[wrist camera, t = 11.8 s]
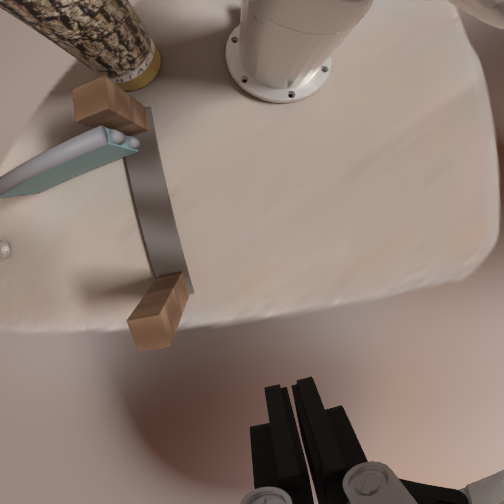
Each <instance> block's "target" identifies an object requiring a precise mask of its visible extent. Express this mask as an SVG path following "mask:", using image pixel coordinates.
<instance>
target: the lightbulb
mask: <svg viewBox="0 0 504 504" xmlns="http://www.w3.org/2000/svg"><path fill="white" fill-rule="evenodd" d="M9 255H10V247H9V245H8V243H7V242H6V241H4V240H2V241H0V261H1V260H3V259H6V258H8V257H9Z"/></svg>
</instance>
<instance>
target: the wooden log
mask: <svg viewBox="0 0 504 504" xmlns="http://www.w3.org/2000/svg"><path fill="white" fill-rule="evenodd" d="M0 8H2V9H3V10H5V11H6V12H8V13H10V14H11V15H13V16H14V17H16V18H17V19H19V20H21V21H22V22H24V23H25V24H27V25H28V26H30V27H31V28H33V29H34V30H36V31H37V32H39V33H40V34H42V35H43V36H45V37H46V38H48V39H49V40H51V41H52V42H53V43H55V44H57V45H58V46H59V47H61V48H62V49H64V50H65V51H66V52H68V53H69V54H71V55H72V56H74V57H75V58H76V59H78V60H79V61H81V62H82V63H83V64H85V65H86V66H88V67H89V68H90V69H92V70H93V71H94V72H96V73H97V74H99V75H100V76H101V77H102V76H105V77H106V78H107V79H109V80H110V81H111V82H113V83H114V84H115V85H117V86H118V87H119V88H121V89H122V90H126V91H132V90H137V89H140V88H142V87H144V86H146V85H147V84H148V83H150V82H151V81H152V80H153V79H154V78H155V76H156V75H157V73H158V71H159V69H160V65H161V57H160V53H159V51H158V49H157V48H156V46H155V44H154V43H153V41H152V39H151V37H150V36H149V34H148V32H147V31H146V29H145V27H144V26H143V24H142V22H141V21H140V19H139V18H138V16H137V14H136V13H135V11H134V9H133V8H132V6H131V5H130V3H129V1H128V0H0Z"/></svg>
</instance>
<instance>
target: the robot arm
mask: <svg viewBox="0 0 504 504" xmlns="http://www.w3.org/2000/svg"><path fill="white" fill-rule="evenodd" d="M447 1H448V2H450V3H452V4H454V5H455V6H457V7H459V8H461V9H463V10H464V11H466V12H467V13H469V14H471V15H472V16H474V17H476V18H478V19H479V20H481V21H483V22H485V23H487V24H489V25H492V26H494V27H497V28H500V29H504V0H447ZM372 2H373V0H241V18H240V24H239V25H238V26H237V27H236V28H235V29H234V30H233V32H232V33H231V35H230V36H229V39H228V41H227V44H226V51H225V56H226V63H227V67H228V70H229V72H230V74H231V76H232V78H233V79H234V80H235V82H236V83H237V84H238V85H239V86H240V87H241V88H242V89H243V90H244V91H246V92H248V93H249V94H251V95H252V96H254V97H257V98H259V99H261V100H264V101H269V102H273V103H292V102H297V101H301V100H304V99H306V98H308V97H310V96H312V95H313V94H314V93H316V92H317V91H318V90H319V89H320V88H321V87H322V86H323V85H324V84H325V82H326V81H327V79H328V78H329V75H330V73H331V69H332V53H333V52H334V51H335V49H336V48H337V47H338V46H339V45H340V43H341V42H342V41H343V40H344V39H345V38H346V36H347V35H348V34H349V33H350V32H351V30H352V29H353V28H354V27H355V26H356V25H357V24H358V22H359V21H360V20H361V19H362V18H363V16H364V15H365V14H366V13H367V12H368V10H369V8H370V7H371V5H372ZM234 41H235V42H237V43H233V42H234ZM322 70H324V71H325V72H323V71H322ZM243 80H246V81H247V82H246V83H243V82H242V81H243ZM288 95H292V98H290V97H288ZM292 391H293V396H294V401H295V406H296V412H297V417H298V422H299V427H300V432H301V437H302V441H303V445H304V449H305V453H306V457H307V461H308V464H309V468H310V472H311V476H312V480H313V484H314V487H315V491H316V495H317V499H318V503H319V504H504V470H502V471H500V472H498V473H496V474H493V475H491V476H489V477H486V478H484V479H481V480H479V481H476V482H474V483H471V484H468V485H467V486H466V488H463V489H460V490H456V489H450V488H444V487H437V486H432V485H427V484H421V483H416V482H411V481H407V480H403V479H399V478H397V476H396V475H395V474H394V473H393V471H392V470H391V469H390V468H389V467H388V466H387V465H385V464H382V463H380V462H374V461H372V462H368V461H367V459H366V457H365V454H364V452H363V450H362V448H361V445H360V443H359V441H358V439H357V437H356V434H355V433H354V430H353V428H352V426H351V423H350V421H349V419H348V417H347V415H346V413H345V410H344V408H343V407H342V406H337V407H334V408H330V409H326V410H325V409H324V406H323V404H322V401H321V398H320V396H319V393H318V391H317V388H316V385H315V383H314V380H313V378H312V377H308V378H305V379H300V380H297V384H296V385H292ZM265 395H266V401H267V408H268V414H269V421H270V423H267V424H262V425H256V426H251V427H250V436H251V450H252V463H253V475H254V487H255V490H253V491H251V492H249V493H248V494H247V495H246V496H245V497H244V498H243V499H242V500H241V503H240V504H314V501H313V496H312V490H311V485H310V479H309V474H308V470H307V466H306V461H305V457H304V453H303V449H302V446H301V442H300V438H299V434H298V430H297V426H296V422H295V418H294V414H293V410H292V406H291V402H290V398H289V394H288V390H287V387H284V388H280V385H274V386H269V387H265Z"/></svg>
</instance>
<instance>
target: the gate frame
mask: <svg viewBox="0 0 504 504" xmlns="http://www.w3.org/2000/svg"><path fill="white" fill-rule="evenodd" d="M72 91H73V101H74V110H75V118H76V122H79V123H82V124H85V125H88V126H91V127H94V128H96V127H98V126H100V125H103V126H104V127H105V128H108V129H114V130H117V131H119V132H122V133H124V134H125V135H126V136H132V137H134V138H137V139H139V140H140V141H141V147H140V148H139V149H138V152H137V153H134V154H131V155H128V156H126V157H125V158H126V163H127V168H128V173H129V177H130V182H131V187H132V191H133V195H134V200H135V204H136V208H137V212H138V216H139V220H140V224H141V228H142V232H143V235H144V239H145V243H146V246H147V250H148V254H149V257H150V261H151V264H152V267H153V271H154V274H155V278H156V281H155V282H154V284H153V285H152V286H151V288H150V289H149V291H148V292H147V293H146V295H145V296H144V297H143V299H142V300H141V301H140V303H139V304H138V306H137V307H136V308H135V310H134V311H133V313H132V314H131V315H130V317H129V318H128V320H127V323H128V326H129V328H130V331H131V334H132V336H133V339H134V341H135V343H136V346H137V348H138V351H145V350H151V349H158V348H165V347H170V346H171V343H172V341H173V338H174V335H175V332H176V329H177V327H178V324H179V321H180V318H181V316H182V313H183V310H184V308H185V305H186V302H187V300H188V297H189V294H193V293H194V290H193V287H192V283H191V280H190V276H189V273H188V269H187V265H186V262H185V258H184V254H183V250H182V247H181V243H180V239H179V235H178V231H177V227H176V223H175V219H174V215H173V211H172V207H171V203H170V198H169V194H168V190H167V186H166V181H165V177H164V172H163V168H162V163H161V158H160V153H159V149H158V144H157V139H156V134H155V129H154V123H153V118H152V113H151V107H146V108H145V107H144V106H143V105H141V104H140V103H139V102H137V101H136V100H135V99H134V98H132V97H131V96H130V95H128V94H127V93H126V92H124V91H123V90H122V89H121V88H119V87H118V86H117V85H115V84H114V83H113V82H111V81H110V80H109V79H107V78H106V77H105V76H102V77H100V78H97V79H95V80H93V81H90V82H88V83H86V84H83V85H81V86H79V87H77V88H75V89H72Z"/></svg>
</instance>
